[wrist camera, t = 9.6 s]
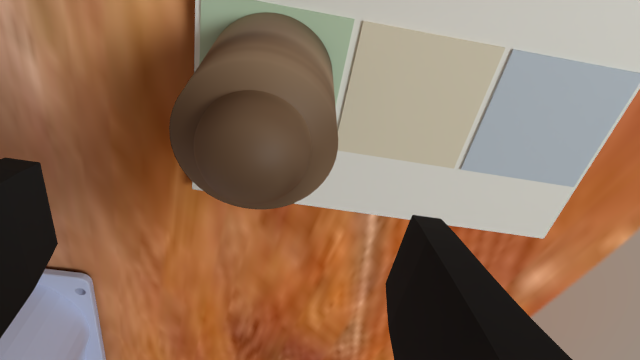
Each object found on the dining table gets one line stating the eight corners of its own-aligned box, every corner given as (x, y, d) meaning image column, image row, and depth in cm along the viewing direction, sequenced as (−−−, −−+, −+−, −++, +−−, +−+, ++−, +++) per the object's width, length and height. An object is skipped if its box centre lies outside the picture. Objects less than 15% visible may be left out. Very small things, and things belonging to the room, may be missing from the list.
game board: (538, 230, 20) (544, 239, 20) (195, 180, 19) (191, 190, 18) (692, -19, 14) (708, -14, 14) (202, -124, 13) (196, -125, 12)
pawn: (317, 141, 17) (318, 261, 11) (204, 119, 16) (148, 235, 11) (346, 28, 14) (363, 112, 9) (213, -2, 14) (147, 69, 8)
